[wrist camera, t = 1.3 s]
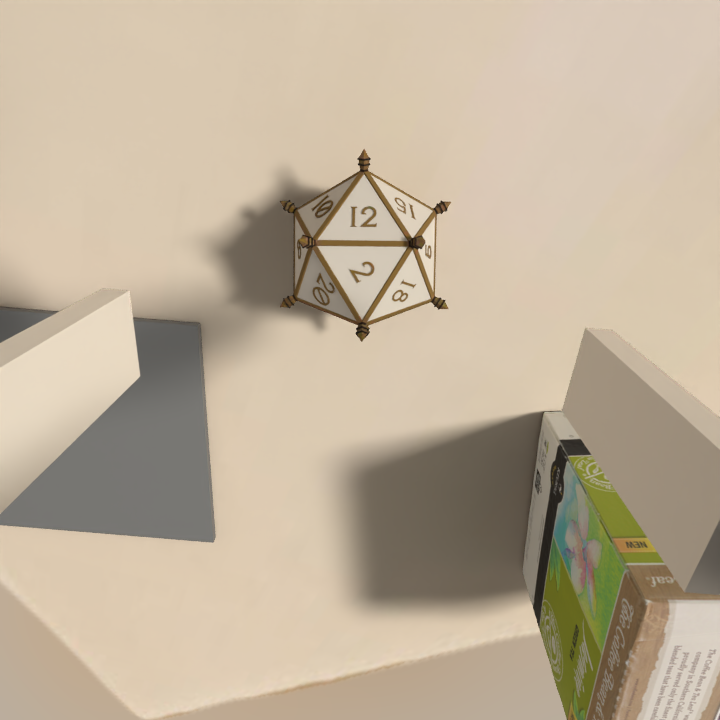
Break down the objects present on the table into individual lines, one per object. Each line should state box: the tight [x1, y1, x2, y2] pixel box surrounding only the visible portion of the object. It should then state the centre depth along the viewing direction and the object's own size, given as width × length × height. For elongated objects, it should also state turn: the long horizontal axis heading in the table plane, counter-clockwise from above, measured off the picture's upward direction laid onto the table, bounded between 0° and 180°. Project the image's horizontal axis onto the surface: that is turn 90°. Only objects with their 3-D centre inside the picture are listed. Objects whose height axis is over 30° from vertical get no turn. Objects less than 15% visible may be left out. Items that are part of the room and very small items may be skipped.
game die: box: [280, 149, 451, 342], centre depth 24 cm, size 9×8×10 cm
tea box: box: [523, 411, 720, 720], centre depth 28 cm, size 15×10×15 cm
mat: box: [0, 307, 215, 542], centre depth 34 cm, size 18×18×1 cm
